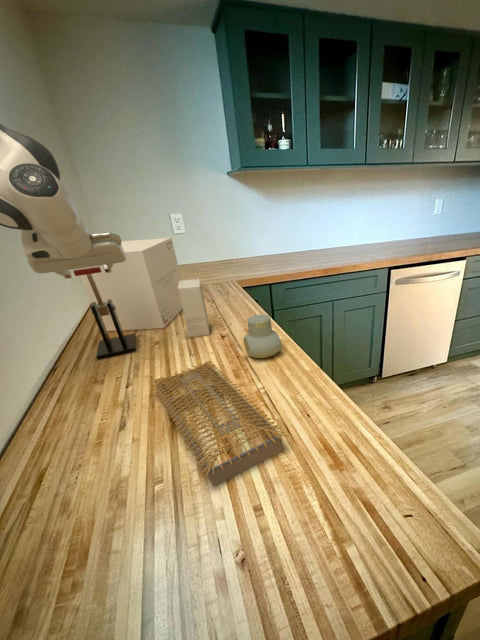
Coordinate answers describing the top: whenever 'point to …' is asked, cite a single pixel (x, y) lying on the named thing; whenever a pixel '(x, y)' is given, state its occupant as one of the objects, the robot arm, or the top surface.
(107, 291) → the cube
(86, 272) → the lever
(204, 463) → the rafter model
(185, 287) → the cosmetic box
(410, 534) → the top surface
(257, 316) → the air freshener
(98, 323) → the bracket
